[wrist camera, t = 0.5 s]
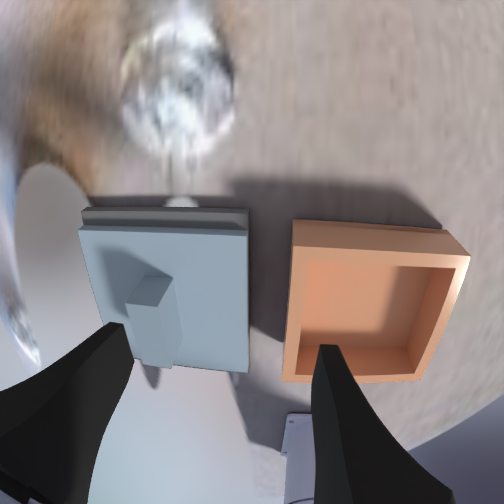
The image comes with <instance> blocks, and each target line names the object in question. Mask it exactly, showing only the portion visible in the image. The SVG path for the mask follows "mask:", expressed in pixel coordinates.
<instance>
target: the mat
mask: <svg viewBox="0 0 504 504" xmlns="http://www.w3.org/2000/svg"><path fill="white" fill-rule="evenodd" d="M81 214H82V219H83V223H84V225H95V226H138V227H171V228H200V229H226V230H248V337H249V366H248V373H249V368H250V209H237V208H202V207H87V208H85V209H84V210H82V211H81ZM134 359H137V358H134ZM140 360H141V359H140ZM173 365H174V364H173ZM177 366H182V365H177ZM185 367H189V366H185ZM193 368H197V367H193ZM200 369H205V368H200ZM209 370H214V369H209ZM218 371H223V370H218ZM227 372H233V371H227ZM238 373H245V372H238Z"/></svg>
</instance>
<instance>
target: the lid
mask: <svg viewBox="0 0 504 504" xmlns="http://www.w3.org/2000/svg"><path fill="white" fill-rule="evenodd" d="M78 235H79V239H80V243H81V248H82V252H83V256H84V260H85V264H86V268H87V271H88V275H89V279H90V283H91V286H92V289H93V293H94V296H95V300H96V303H97V306H98V309H99V313H100V316H101V319H102V322H103V325H106V324H107V323H109V322H116V323H122V324H124V328H125V331H126V335H127V338H128V341H129V345H130V348H131V351H132V355H133V358H137V359H141V360H142V364H144V365H150V366H156V367H162V368H169V369H171V368H172V365H173V364H174V365H182V366H189V367H197V368H205V369H214V370H223V371H233V372H245V373H248V366H249V337H248V230H226V229H200V228H171V227H138V226H95V225H83V226H82V227H81V228H80V229H78Z"/></svg>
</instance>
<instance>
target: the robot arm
mask: <svg viewBox="0 0 504 504" xmlns="http://www.w3.org/2000/svg"><path fill="white" fill-rule="evenodd" d="M133 364H134V358H133V355H132V351H131V348H130V345H129V341H128V338H127V335H126V331H125V328H124V324H122V323H116V322H109V323H107V324H106V325H104V326H103V327H102V328H100V329H99V330H98V331H96V332H95V333H94V334H92V335H91V336H90V337H89V338H87V339H86V340H85V341H83V342H82V343H81V344H79V345H78V346H77V347H75V348H74V349H73V350H72V351H70V352H69V353H68V354H66V355H65V356H63V357H62V358H60V359H59V360H58V361H56V362H55V363H53V364H52V365H50V366H49V367H47V368H46V369H44V370H42V371H41V372H39V373H37V374H36V375H34V376H32V377H30V378H29V379H27V380H25V381H23V382H20V383H18V384H16V385H14V386H12V387H10V388H8V389H5V390H3V391H0V504H87V502H88V495H89V488H90V483H91V477H92V473H93V469H94V465H95V461H96V457H97V454H98V450H99V447H100V444H101V440H102V437H103V435H104V432H105V430H106V427H107V425H108V423H109V421H110V419H111V416H112V414H113V412H114V410H115V408H116V406H117V404H118V402H119V400H120V398H121V396H122V393H123V391H124V389H125V387H126V385H127V383H128V380H129V377H130V374H131V371H132V367H133ZM311 412H312V414H294V413H292V414H288V415H287V419H286V425H285V431H284V437H283V443H282V449H281V457H283V458H287V464H286V480H285V495H284V504H456V502H455V498H454V496H453V492H452V490H450V489H449V488H448V487H447V486H445V485H444V484H442V483H441V482H440V481H438V480H437V479H436V478H435V477H433V476H432V475H431V474H430V473H429V472H427V471H426V470H425V469H424V468H423V467H422V466H420V464H418V463H417V461H415V459H414V458H412V456H411V455H410V454H408V452H407V451H406V450H405V449H404V448H403V447H402V446H401V445H400V444H399V443H398V442H397V440H396V439H395V438H394V437H393V436H392V434H391V433H390V432H389V431H388V429H387V428H386V427H385V426H384V424H383V423H382V422H381V420H380V419H379V417H378V416H377V415H376V413H375V412H374V410H373V409H372V407H371V406H370V404H369V403H368V401H367V399H366V398H365V396H364V394H363V393H362V391H361V389H360V387H359V386H358V384H357V382H356V380H355V379H354V377H353V375H352V373H351V371H350V369H349V367H348V365H347V363H346V361H345V359H344V357H343V354H342V352H341V350H340V347H339V346H338V345H331V344H320V346H319V351H318V355H317V360H316V364H315V369H314V373H313V378H312V387H311Z"/></svg>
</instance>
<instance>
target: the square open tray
mask: <svg viewBox="0 0 504 504" xmlns="http://www.w3.org/2000/svg"><path fill="white" fill-rule="evenodd" d="M470 258H471V255H470V254H469V253H468V252H467V251H466V250H465V249H464V248H463V247H462V246H461V244H460V243H459V242H458V241H457V240H456V239H455V238H454V237H453V236H452V235H451V234H450V233H449V232H448V231H447V230H442V229H431V228H420V227H408V226H395V225H382V224H368V223H353V222H338V221H321V220H303V219H293V224H292V240H291V256H290V271H289V285H288V298H287V311H286V323H285V334H284V345H283V366H282V382H297V383H312V378H313V373H314V369H315V364H316V360H317V355H318V351H319V346H320V344H331V345H338V346H339V347H340V350H341V352H342V354H343V357H344V359H345V361H346V363H347V365H348V367H349V369H350V371H351V373H352V375H353V377H354V379H355V380H356V382H357V383H383V382H403V381H418V380H421V378H422V376H423V374H424V372H425V370H426V368H427V366H428V364H429V362H430V360H431V358H432V356H433V354H434V351H435V349H436V347H437V345H438V343H439V340H440V338H441V336H442V334H443V331H444V329H445V327H446V324H447V322H448V319H449V317H450V314H451V312H452V309H453V307H454V304H455V302H456V299H457V296H458V293H459V291H460V288H461V285H462V282H463V279H464V276H465V273H466V270H467V267H468V264H469V261H470Z"/></svg>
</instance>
